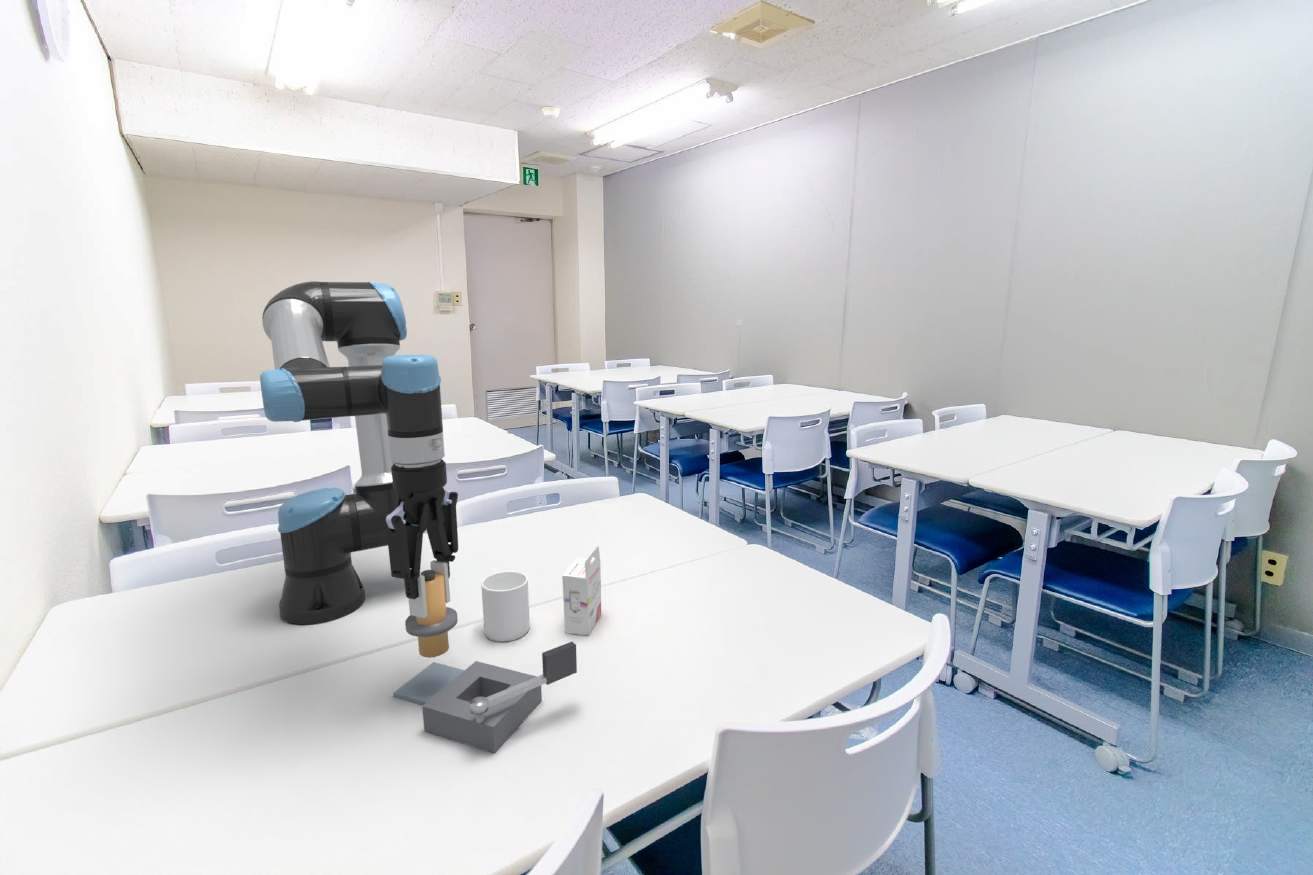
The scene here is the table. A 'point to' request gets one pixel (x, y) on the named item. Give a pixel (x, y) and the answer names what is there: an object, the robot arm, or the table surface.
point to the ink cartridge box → (582, 594)
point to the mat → (427, 683)
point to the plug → (433, 618)
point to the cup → (505, 606)
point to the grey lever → (554, 668)
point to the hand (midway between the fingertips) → (430, 607)
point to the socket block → (486, 730)
